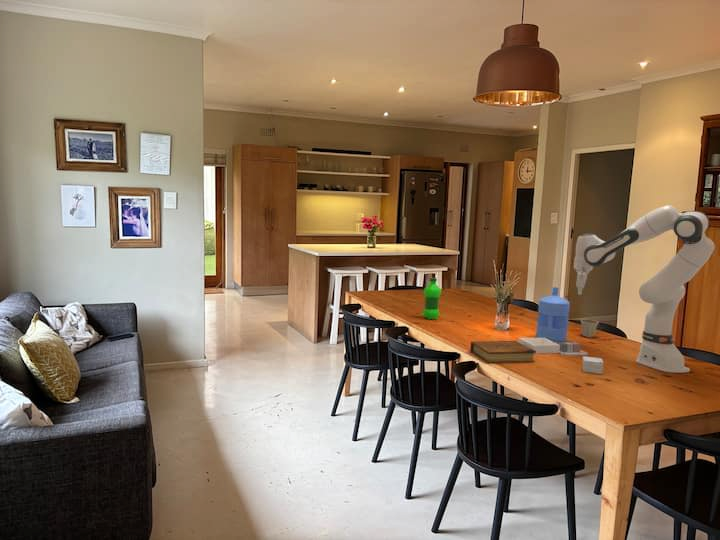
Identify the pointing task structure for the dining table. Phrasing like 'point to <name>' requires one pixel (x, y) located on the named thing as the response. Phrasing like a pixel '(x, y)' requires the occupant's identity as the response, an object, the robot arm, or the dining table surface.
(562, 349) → the pebble charcoal
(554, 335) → the water jug
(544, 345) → the flat white box
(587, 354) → the tray
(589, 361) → the small box
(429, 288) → the plastic bottle
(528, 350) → the diary
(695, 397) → the dining table surface
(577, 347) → the pebble brown
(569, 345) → the pebble slate
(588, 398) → the dining table surface
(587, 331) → the flower pot
